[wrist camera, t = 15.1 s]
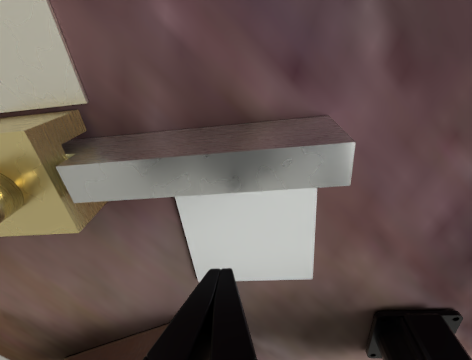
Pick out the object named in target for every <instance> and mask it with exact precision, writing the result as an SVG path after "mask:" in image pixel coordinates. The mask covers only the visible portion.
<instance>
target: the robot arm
mask: <svg viewBox="0 0 472 360" xmlns="http://www.w3.org/2000/svg"><path fill="white" fill-rule="evenodd" d="M462 320H463V317H462V316H461V314H460V313H459V312H458V311H381V312H377V313H376V314H375V316H374V320H373V323H372V327H371V331H370V335H369V339H368V343H367V347H366V354H367V356H368V357H369V358H382V359H383V360H472V359H471V358H470V356H469V355H468V353H467V352H466V350H465V349H464V347H463V346H462V345H461V343H460V342H459V340H458V339H457V337H456V336H455V333H456V331H457V329H458V327H459V325H460V323H461V321H462ZM142 360H257V358H256V354H255V350H254V346H253V343H252V339H251V335H250V332H249V328H248V324H247V321H246V317H245V313H244V310H243V306H242V303H241V299H240V295H239V292H238V288H237V284H236V281H235V277H234V273H233V270H232V268H222V269H219V268H214V269H209V270H208V272H207V273H206V275H205V276H204V277H203V279H202V280H201V281H200V283H199V284H198V285H197V287H196V288H195V289H194V291H193V292H192V293H191V295H190V296H189V297H188V299H187V300H186V302H185V303H184V304H183V306H182V307H181V308H180V310H179V311H178V312H177V314H176V315H175V316H174V318H173V319H172V320H171V322H170V323H169V324H168V326H167V327H166V329H165V330H164V331H163V333H162V334H161V335H160V337H159V338H158V339H157V341H156V342H155V343H154V345H153V346H152V347H151V349H150V350H149V352H148V353H147V356H145V357H144V358H143V359H142Z"/></svg>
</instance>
